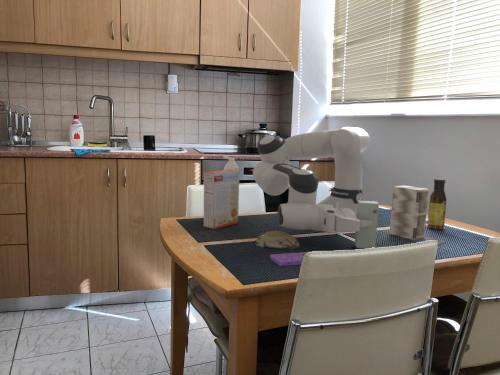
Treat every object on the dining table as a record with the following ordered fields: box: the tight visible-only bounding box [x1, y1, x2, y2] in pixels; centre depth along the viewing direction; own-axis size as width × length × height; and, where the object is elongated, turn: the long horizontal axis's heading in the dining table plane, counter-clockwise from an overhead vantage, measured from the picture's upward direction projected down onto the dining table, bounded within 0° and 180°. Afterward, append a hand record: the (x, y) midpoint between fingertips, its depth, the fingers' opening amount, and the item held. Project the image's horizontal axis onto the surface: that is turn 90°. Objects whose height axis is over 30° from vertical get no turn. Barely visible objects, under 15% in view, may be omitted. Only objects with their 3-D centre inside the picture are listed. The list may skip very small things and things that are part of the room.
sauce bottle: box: [427, 178, 448, 231], centre depth 171 cm, size 7×6×20 cm
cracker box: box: [203, 169, 240, 230], centre depth 162 cm, size 14×6×21 cm, turn 141°
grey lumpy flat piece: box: [254, 230, 300, 251], centre depth 142 cm, size 15×4×15 cm
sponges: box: [269, 251, 308, 267], centre depth 124 cm, size 7×13×2 cm, turn 110°
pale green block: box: [354, 200, 380, 249], centre depth 140 cm, size 5×6×15 cm
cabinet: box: [389, 184, 447, 246], centre depth 153 cm, size 18×10×18 cm, turn 40°
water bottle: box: [222, 155, 240, 172], centre depth 178 cm, size 9×6×25 cm
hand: (369, 220), depth 140 cm, fingers open, 7 cm apart
